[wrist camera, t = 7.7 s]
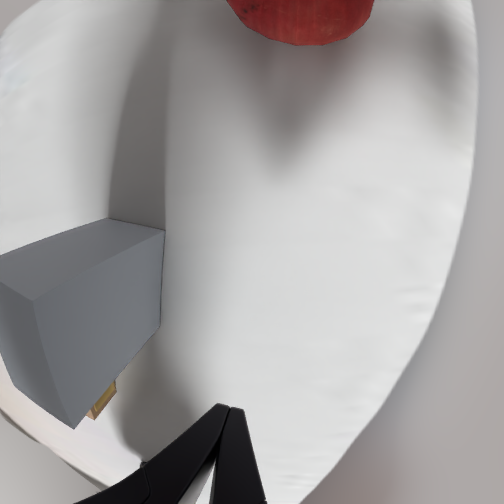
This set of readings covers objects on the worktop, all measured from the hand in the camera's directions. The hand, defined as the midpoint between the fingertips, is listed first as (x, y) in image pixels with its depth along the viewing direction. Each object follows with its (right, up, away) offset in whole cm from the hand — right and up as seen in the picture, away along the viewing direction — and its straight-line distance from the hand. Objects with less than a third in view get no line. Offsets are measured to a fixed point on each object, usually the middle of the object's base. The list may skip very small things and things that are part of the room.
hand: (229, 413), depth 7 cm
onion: (+3, +16, +3) cm, 17 cm away
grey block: (-6, +4, +8) cm, 11 cm away
